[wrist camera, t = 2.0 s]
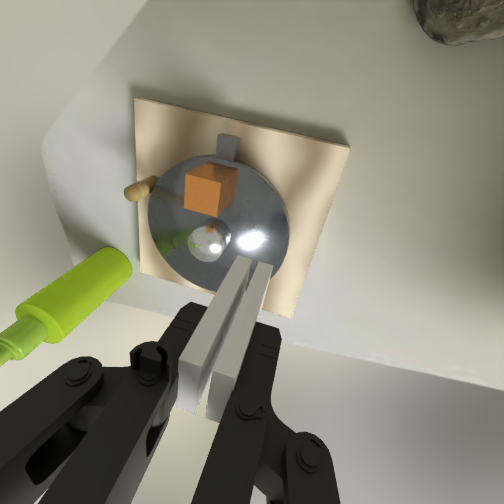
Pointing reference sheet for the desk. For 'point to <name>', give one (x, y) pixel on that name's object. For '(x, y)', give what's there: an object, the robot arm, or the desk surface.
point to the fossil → (460, 20)
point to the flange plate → (239, 215)
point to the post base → (258, 156)
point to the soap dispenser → (64, 303)
